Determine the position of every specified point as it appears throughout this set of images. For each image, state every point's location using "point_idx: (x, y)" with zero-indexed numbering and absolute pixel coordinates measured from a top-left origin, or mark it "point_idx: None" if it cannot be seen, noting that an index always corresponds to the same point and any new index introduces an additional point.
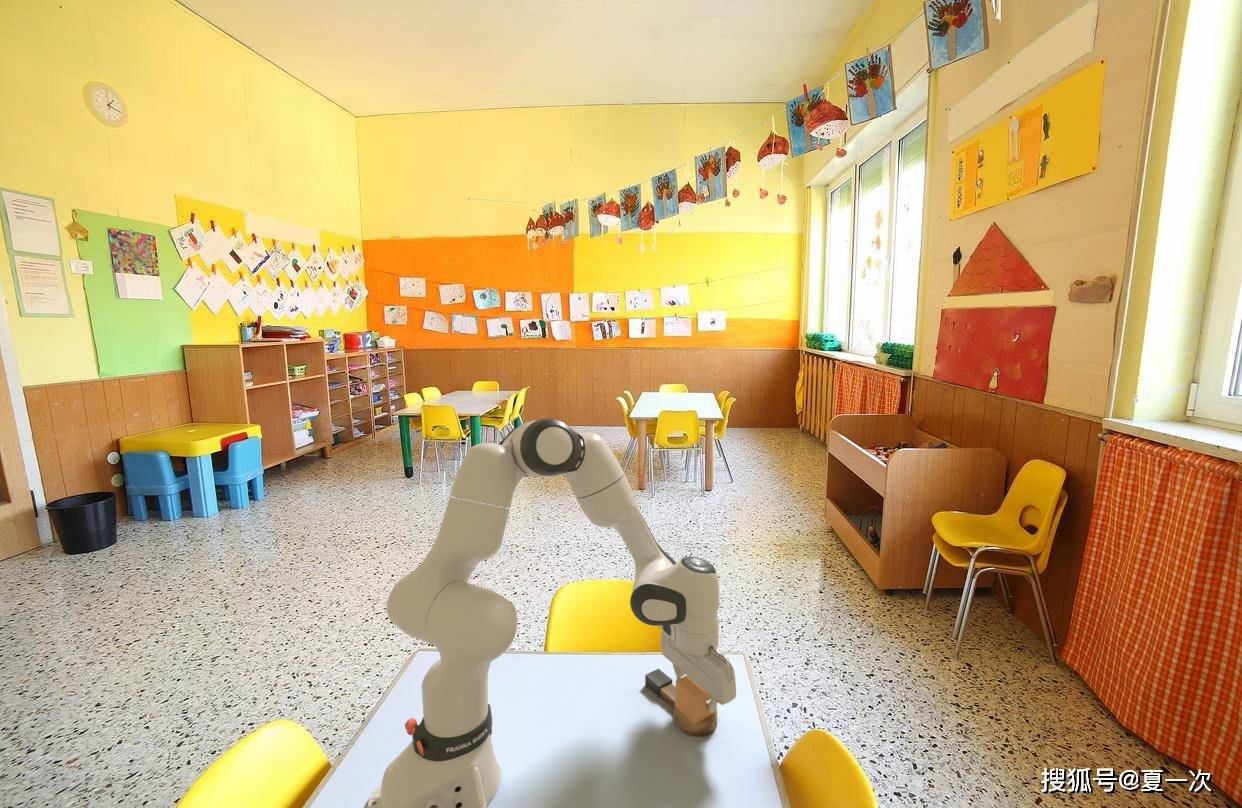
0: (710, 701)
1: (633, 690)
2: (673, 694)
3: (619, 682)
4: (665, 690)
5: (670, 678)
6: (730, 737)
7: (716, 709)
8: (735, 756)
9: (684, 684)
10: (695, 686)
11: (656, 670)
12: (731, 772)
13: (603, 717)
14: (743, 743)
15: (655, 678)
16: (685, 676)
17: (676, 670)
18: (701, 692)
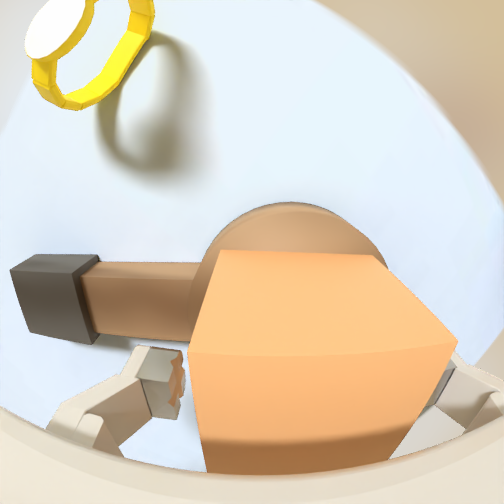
0: (459, 420)
1: (64, 351)
2: (144, 317)
3: (33, 352)
4: (110, 324)
5: (61, 273)
6: (425, 243)
7: (362, 237)
8: (462, 285)
9: (268, 473)
10: (336, 449)
11: (16, 285)
12: (467, 326)
13: (137, 441)
14: (460, 227)
15: (49, 320)
16: (203, 444)
17: (120, 440)
18: (397, 440)
